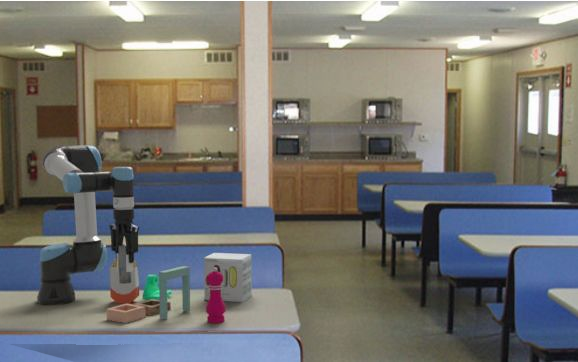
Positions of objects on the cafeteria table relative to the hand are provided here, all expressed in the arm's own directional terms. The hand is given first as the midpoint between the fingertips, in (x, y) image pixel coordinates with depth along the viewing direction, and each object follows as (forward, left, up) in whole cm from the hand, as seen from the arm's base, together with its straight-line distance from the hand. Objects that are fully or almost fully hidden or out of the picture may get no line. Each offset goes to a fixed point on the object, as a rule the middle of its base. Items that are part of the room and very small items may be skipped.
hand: (125, 270), depth 251 cm
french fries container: (-20, +18, -18) cm, 33 cm away
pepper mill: (+31, +15, -18) cm, 39 cm away
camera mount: (-13, +29, -18) cm, 37 cm away
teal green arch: (+12, +14, -18) cm, 26 cm away
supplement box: (+12, +46, -18) cm, 51 cm away
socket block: (0, +14, -18) cm, 23 cm away
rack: (0, 0, -18) cm, 18 cm away
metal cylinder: (0, 0, -4) cm, 4 cm away
